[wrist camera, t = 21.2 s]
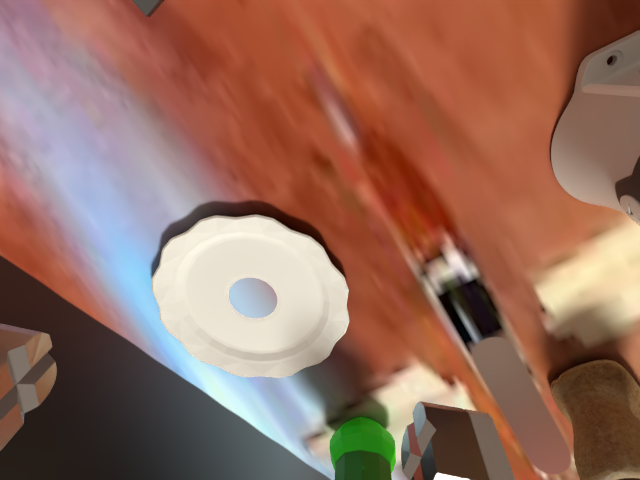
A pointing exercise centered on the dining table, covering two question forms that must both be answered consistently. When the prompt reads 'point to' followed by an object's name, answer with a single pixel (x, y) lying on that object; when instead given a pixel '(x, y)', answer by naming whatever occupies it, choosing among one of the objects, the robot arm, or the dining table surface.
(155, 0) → the collar holder
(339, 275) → the plate
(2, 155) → the dining table surface
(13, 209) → the dining table surface
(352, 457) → the plastic bottle
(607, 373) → the stone cup
